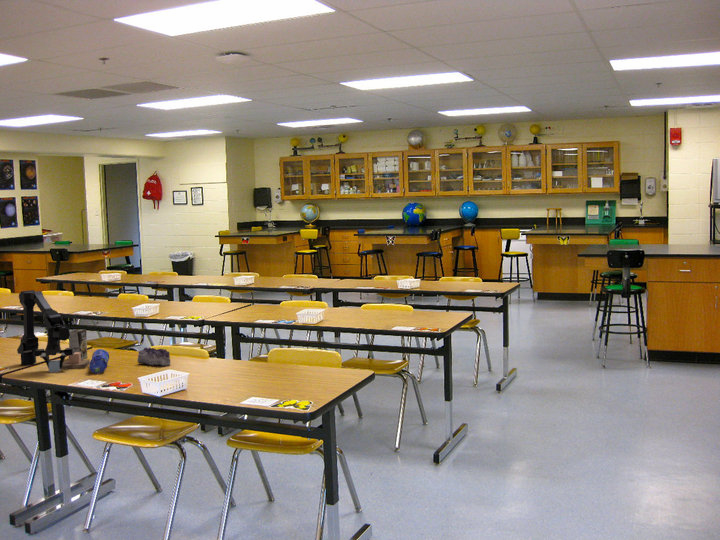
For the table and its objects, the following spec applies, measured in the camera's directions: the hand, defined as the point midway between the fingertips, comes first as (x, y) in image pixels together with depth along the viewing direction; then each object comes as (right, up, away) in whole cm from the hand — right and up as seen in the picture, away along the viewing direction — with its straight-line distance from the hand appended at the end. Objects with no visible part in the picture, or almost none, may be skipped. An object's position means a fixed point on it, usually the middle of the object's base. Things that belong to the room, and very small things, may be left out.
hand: (55, 368), depth 349 cm
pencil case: (+22, -1, +2) cm, 22 cm away
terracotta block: (+6, +2, +9) cm, 11 cm away
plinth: (+6, 0, +9) cm, 11 cm away
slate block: (0, -1, -1) cm, 1 cm away
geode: (+47, 0, +14) cm, 49 cm away
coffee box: (+1, +1, +27) cm, 27 cm away
